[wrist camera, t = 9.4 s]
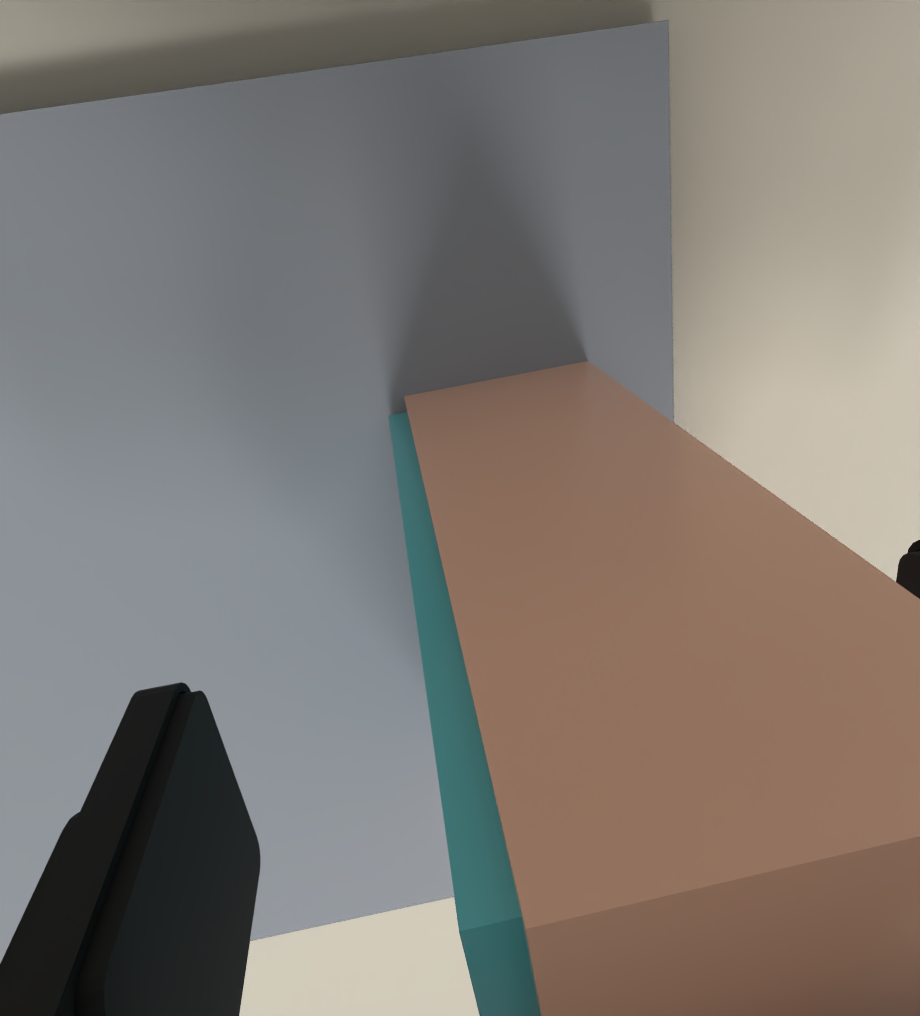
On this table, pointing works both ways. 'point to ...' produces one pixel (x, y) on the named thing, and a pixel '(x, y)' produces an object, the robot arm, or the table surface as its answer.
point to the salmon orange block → (656, 716)
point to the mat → (290, 413)
